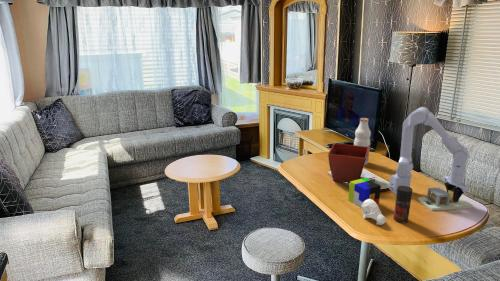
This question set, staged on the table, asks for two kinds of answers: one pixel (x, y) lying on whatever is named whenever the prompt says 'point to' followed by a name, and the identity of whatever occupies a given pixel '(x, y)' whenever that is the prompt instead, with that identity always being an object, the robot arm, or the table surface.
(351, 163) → the plant pot
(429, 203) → the deck tunnel
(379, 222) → the white rounded lumpy piece
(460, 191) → the robot arm
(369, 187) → the puzzle toy
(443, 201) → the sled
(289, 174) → the table surface
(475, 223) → the table surface
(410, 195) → the deodorant
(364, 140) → the white bottle
